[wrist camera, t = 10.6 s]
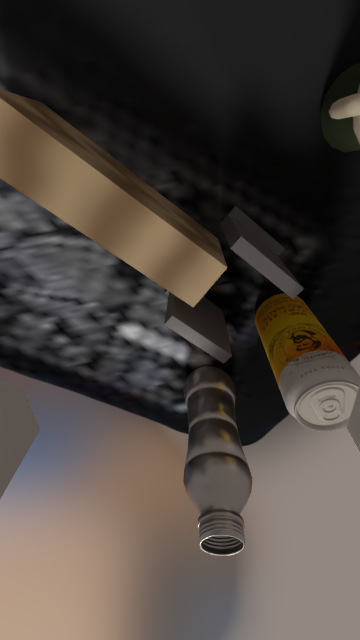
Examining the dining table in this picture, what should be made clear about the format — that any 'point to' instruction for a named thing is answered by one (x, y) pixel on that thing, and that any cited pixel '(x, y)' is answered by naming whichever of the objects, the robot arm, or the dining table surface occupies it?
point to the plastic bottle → (215, 462)
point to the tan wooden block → (104, 199)
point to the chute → (205, 317)
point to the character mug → (343, 111)
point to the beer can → (307, 364)
